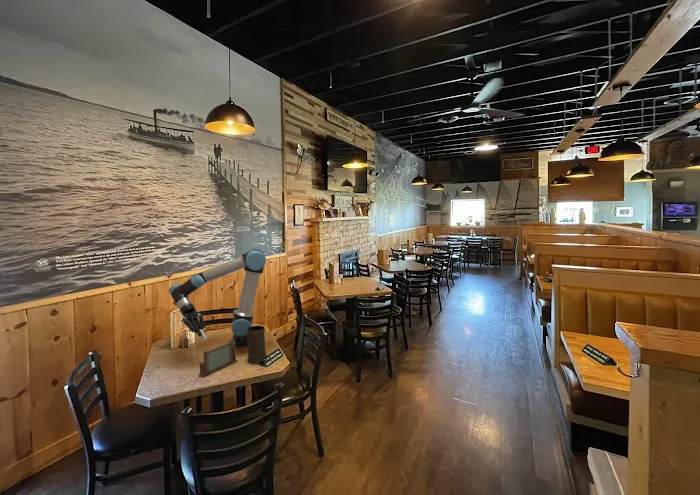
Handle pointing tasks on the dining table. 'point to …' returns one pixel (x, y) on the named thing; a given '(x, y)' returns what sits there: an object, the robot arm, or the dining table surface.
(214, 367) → the gate
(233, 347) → the gate frame
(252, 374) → the dining table surface
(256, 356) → the beer stein
